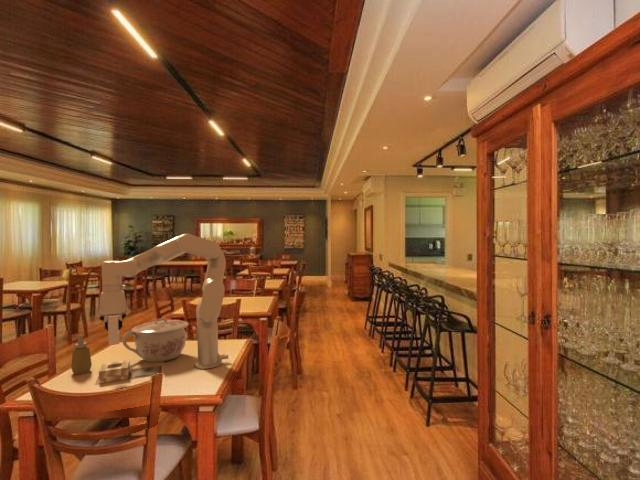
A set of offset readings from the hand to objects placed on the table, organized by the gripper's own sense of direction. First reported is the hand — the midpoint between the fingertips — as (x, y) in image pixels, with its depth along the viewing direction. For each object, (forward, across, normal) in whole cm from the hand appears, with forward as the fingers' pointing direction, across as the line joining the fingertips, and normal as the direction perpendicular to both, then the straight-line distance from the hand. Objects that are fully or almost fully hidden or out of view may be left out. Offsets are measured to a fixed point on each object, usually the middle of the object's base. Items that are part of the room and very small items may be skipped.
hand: (113, 329), depth 168 cm
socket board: (+22, -6, 0) cm, 23 cm away
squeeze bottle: (+22, +15, -14) cm, 30 cm away
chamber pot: (+22, -19, -22) cm, 37 cm away
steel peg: (+6, 0, 0) cm, 6 cm away
